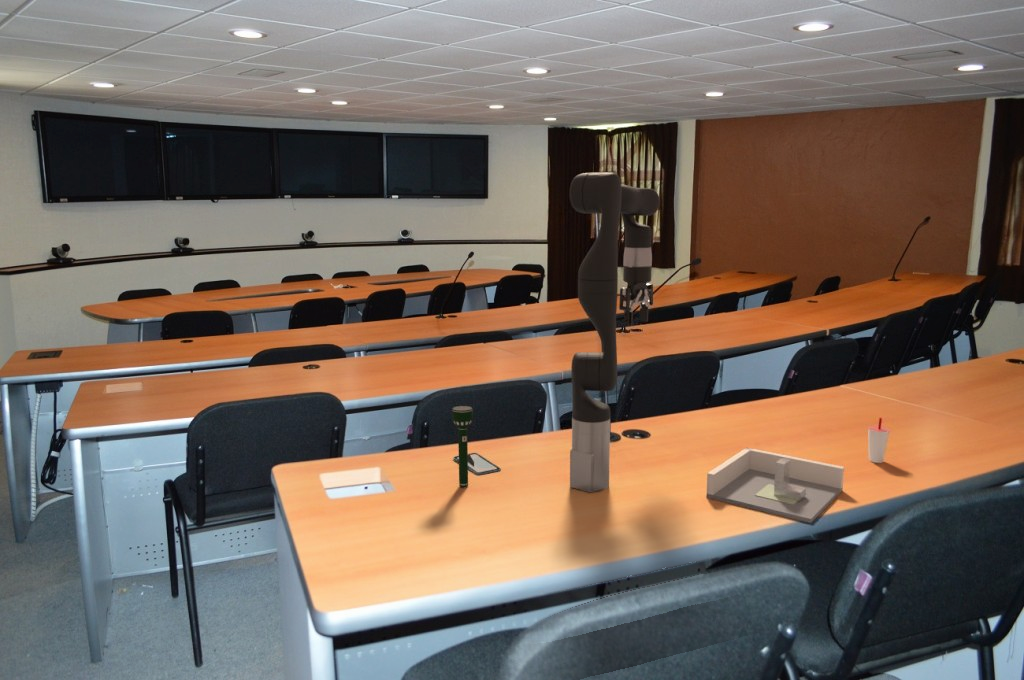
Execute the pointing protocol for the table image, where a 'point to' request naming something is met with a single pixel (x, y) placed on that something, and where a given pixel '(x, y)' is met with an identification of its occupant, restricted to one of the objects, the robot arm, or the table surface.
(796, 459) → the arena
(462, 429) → the flashlight
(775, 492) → the bracket
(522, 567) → the table surface
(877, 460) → the cup
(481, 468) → the smartphone
